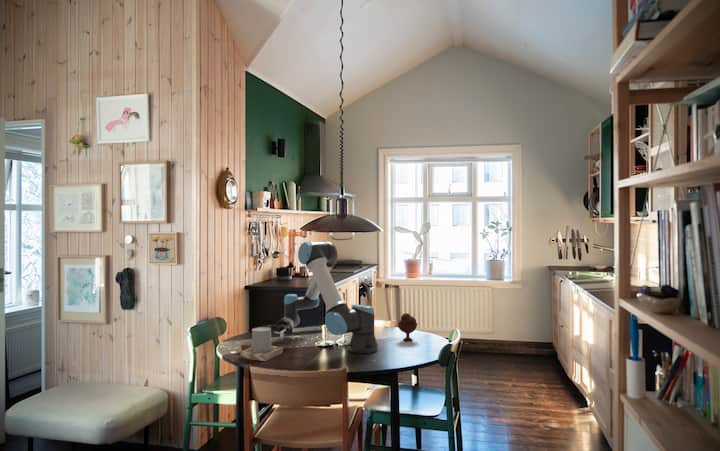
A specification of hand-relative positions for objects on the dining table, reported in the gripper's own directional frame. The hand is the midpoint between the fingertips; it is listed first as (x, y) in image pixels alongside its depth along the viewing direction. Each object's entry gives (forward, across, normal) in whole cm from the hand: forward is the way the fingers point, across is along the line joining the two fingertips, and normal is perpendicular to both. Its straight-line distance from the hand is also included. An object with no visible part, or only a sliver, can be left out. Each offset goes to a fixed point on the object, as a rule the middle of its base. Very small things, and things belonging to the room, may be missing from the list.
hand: (268, 334), depth 251 cm
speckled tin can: (+8, 0, -8) cm, 11 cm away
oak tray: (+8, 0, -9) cm, 12 cm away
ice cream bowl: (-36, -67, -9) cm, 77 cm away
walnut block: (+2, +11, -9) cm, 15 cm away
